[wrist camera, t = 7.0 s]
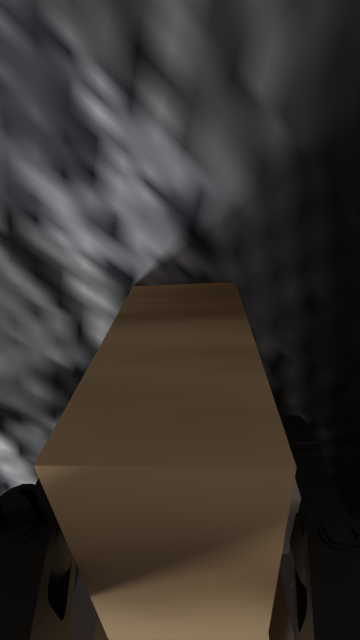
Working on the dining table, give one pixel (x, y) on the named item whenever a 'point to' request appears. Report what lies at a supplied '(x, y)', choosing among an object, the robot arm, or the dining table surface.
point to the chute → (91, 636)
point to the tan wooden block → (174, 471)
